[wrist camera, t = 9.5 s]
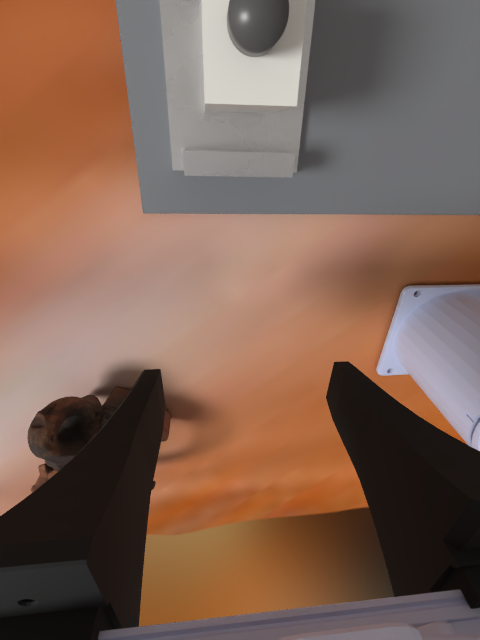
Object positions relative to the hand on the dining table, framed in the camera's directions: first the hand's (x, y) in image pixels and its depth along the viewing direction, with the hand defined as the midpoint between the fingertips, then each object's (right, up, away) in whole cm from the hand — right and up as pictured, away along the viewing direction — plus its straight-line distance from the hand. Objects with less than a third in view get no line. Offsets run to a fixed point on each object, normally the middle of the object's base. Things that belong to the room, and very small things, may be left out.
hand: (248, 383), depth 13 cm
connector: (0, +14, +1) cm, 14 cm away
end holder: (-1, +14, +2) cm, 14 cm away
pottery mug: (-11, -6, +14) cm, 18 cm away
